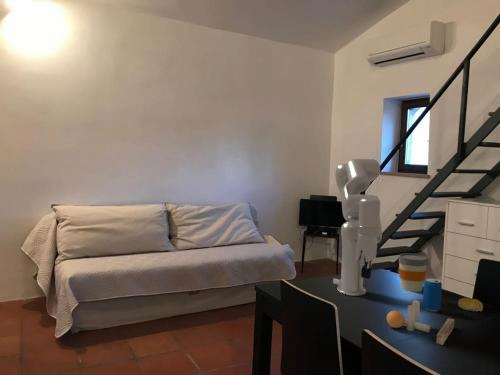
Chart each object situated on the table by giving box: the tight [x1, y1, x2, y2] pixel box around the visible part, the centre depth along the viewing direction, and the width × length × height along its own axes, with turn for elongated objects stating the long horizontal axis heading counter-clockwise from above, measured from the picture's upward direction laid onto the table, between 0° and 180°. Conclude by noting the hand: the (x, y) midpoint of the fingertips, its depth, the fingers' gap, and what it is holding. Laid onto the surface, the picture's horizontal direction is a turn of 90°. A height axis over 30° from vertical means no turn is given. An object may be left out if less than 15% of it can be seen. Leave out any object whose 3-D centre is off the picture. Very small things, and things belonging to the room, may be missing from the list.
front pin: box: [403, 318, 431, 333], centre depth 154 cm, size 2×2×8 cm
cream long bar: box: [435, 317, 455, 346], centre depth 149 cm, size 2×18×3 cm, turn 144°
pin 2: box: [412, 300, 421, 323], centre depth 158 cm, size 2×2×8 cm
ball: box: [386, 310, 405, 329], centre depth 155 cm, size 6×6×6 cm
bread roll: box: [457, 297, 484, 312], centre depth 176 cm, size 8×9×4 cm
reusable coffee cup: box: [398, 252, 428, 293], centre depth 199 cm, size 13×13×15 cm
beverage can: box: [422, 277, 443, 313], centre depth 173 cm, size 6×6×12 cm
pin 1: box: [406, 304, 415, 332], centre depth 153 cm, size 2×2×8 cm
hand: (365, 277), depth 166 cm, fingers closed
